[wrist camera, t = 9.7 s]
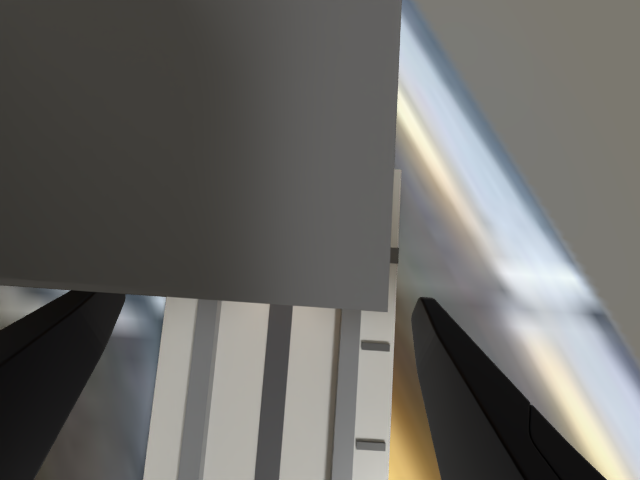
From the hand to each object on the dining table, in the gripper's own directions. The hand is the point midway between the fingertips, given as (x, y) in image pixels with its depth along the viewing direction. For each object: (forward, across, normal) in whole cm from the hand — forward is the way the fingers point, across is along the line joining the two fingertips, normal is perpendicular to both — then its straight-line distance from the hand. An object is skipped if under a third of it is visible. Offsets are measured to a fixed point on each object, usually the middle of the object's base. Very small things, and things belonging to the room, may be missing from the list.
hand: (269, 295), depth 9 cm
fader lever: (+4, 0, +1) cm, 4 cm away
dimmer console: (+2, 0, +8) cm, 8 cm away
